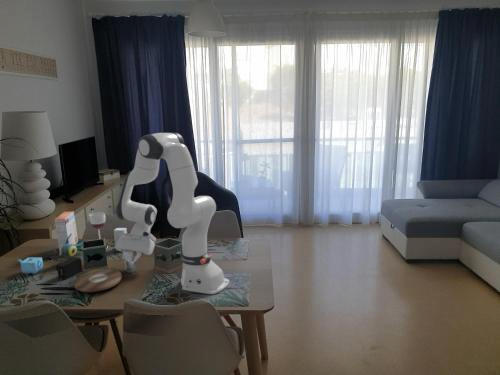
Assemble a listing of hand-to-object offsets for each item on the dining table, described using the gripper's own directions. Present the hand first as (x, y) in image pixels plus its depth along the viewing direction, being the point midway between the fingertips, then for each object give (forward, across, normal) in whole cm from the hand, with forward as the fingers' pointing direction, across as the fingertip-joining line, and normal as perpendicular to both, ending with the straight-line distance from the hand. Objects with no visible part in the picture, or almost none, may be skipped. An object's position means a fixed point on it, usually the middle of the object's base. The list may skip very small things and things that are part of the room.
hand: (128, 260), depth 181 cm
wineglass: (-11, -36, +19) cm, 42 cm away
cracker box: (-5, -51, +13) cm, 53 cm away
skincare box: (-12, -23, +20) cm, 33 cm away
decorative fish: (+4, -36, +5) cm, 37 cm away
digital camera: (+13, -26, -4) cm, 29 cm away
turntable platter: (+14, -5, -8) cm, 17 cm away
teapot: (+15, -46, -7) cm, 49 cm away
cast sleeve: (+4, 0, +4) cm, 6 cm away
